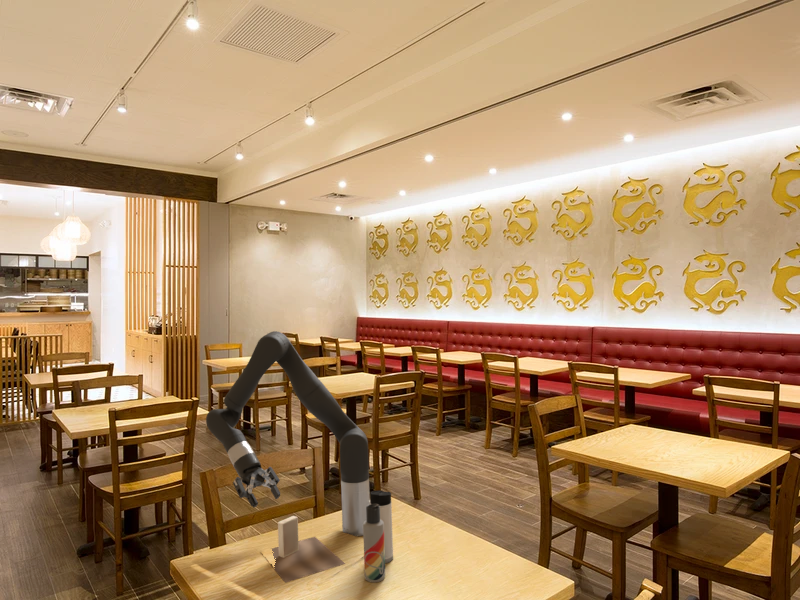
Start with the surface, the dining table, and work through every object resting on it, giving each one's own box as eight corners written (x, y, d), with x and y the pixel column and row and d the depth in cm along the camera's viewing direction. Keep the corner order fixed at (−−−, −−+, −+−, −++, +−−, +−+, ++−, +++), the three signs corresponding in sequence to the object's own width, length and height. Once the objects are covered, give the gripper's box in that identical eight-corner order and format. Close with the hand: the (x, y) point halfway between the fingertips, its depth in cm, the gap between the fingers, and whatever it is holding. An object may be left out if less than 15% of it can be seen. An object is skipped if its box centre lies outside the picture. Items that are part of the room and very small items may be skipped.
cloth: (314, 539, 173) (314, 536, 173) (345, 567, 154) (345, 563, 154) (259, 555, 163) (259, 551, 163) (285, 586, 145) (285, 582, 145)
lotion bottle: (376, 585, 144) (374, 510, 144) (360, 578, 147) (358, 505, 148) (389, 576, 148) (387, 503, 149) (373, 570, 152) (371, 499, 152)
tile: (278, 556, 160) (277, 522, 160) (294, 548, 165) (293, 515, 165) (283, 557, 159) (282, 523, 159) (298, 550, 164) (297, 517, 164)
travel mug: (367, 561, 157) (365, 493, 157) (378, 552, 163) (376, 486, 163) (386, 566, 154) (383, 496, 154) (396, 556, 160) (394, 488, 160)
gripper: (229, 457, 168) (253, 501, 161) (266, 447, 179) (290, 488, 172) (220, 471, 171) (243, 515, 164) (257, 460, 182) (280, 501, 175)
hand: (267, 501), depth 168 cm, fingers open, 8 cm apart
